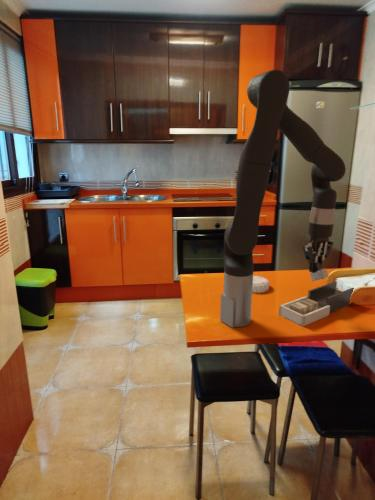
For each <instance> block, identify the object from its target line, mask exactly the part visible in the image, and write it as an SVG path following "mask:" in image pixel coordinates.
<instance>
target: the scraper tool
mask: <svg viewBox="0 0 375 500" xmlns="http://www.w3.org/2000/svg"><path fill="white" fill-rule="evenodd" d="M313 256H314V258H315V255H313ZM307 262H308V264H309V265H310V261H308V260H307ZM309 265H308V266H309ZM309 276H310V280H311V282H312V283H314V282H317V281H320V280H324V279H327V278H329V273H328V271H327V268H323V265H322V266H321V264H320V261H319V258H318V260H317V266H316V272H315V273H312V272H309Z"/></svg>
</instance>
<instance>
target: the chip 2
mask: <svg viewBox="0 0 375 500" xmlns="http://www.w3.org/2000/svg"><path fill="white" fill-rule="evenodd" d="M301 303H302V304H304V305H307V306H308V311H307V313H310V312H312V311H315V310H317V309H318V302H316V301H313V300H310V299H308V298H307V299H306V300H304V301H301Z"/></svg>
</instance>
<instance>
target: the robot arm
mask: <svg viewBox="0 0 375 500" xmlns="http://www.w3.org/2000/svg"><path fill="white" fill-rule="evenodd" d="M246 89H247V90H246V93H247V97H248V101H249V103H250V104H252V106H253V107H254V108H255V109H256V113H255V118H254V122H253V127H252V128H251V131H250V133H249V135H248V137H247V139H246V141H245V143H244V146H243V148H242V151H241V152H240V157H239V161H238V166H237V172H236V181H235V182H236V183H235V185H236V186H235V195H236V196H235V210H234V216H233V220H232V222H231V223H229V224H228V225H227V227H226V229H225V230H224V234H223V235H224V236H223V266H224V268H223V271H224V273H223V293H221V295H220V317H219V318H220V319H219V320H220V321H221V322H222V323H224V324H225V325H227V326H229V327H230V328H231V329H232V328H233V329H234V328H242V327H246V326H248V325H250V324H251V320H252V302H253V301H252V300H253V292H252V287H253V276H254V271H255V270H254V268H255V267H254V265H255V264H254V259H253V258H254V257H253V252H254V251H253V250H254V249H255V248H256V246H257V244H258V236H259V225H260V216H261V210H262V205H263V204H264V199H265V194H266V190H267V186H268V183H269V178H270V173H271V168H272V165H273V157H274V153H275V147H276V143H277V137H278V132H279V131H280V132H281V133H282V134H283V135H284V136H285V137H286V138H287V139H288V141H289V142H290V143H291V145H292V146H293V147H294V148H295V150H296V151H297V152H298V153H299V154H300V156H301V157H302V158H303V159H304V160H305V161H306V162H308V163H310V164H313V165H311V166H312V167H311V170H310V171H311V172H310V178H311V180H310V181H311V188H312V192H313V193H312V194H313V196H312V200H311V201H312V203H311V209H310V213H309V220H308V221H309V222H308V228H307V229H308V230H307V234H308V235H309V236H310V238H309V240H308V244H304V245H302V249H303V255H304V259H305V260H306V261H307V262H308V261H310V265H308V271H309V273H315V272H316V266H317V260H318V258H319V261H320V264H321V266H322V267H323V263H324V261H325V259H328V257H329V255H330V252H331V250H332V248H333V245H334V241H331V240H330V238H331V237H332V236H333V234H334V224H335V219H336V218H335V217H336V204H337V196H338V195H337V190H335V189H334V188H332V186H331V182H333V183H334V182H338V181H340V180H342V179H343V178H344V177H345V174H346V170H347V169H346V164H345V162H344V160H343V159H342V157H341V156H340V155H338V153H336V152H335V151H334V150H333V149H331V148H330V147H329V146H328V145H326V144H325V143H324V141H323V139H322V138H321V137H320V136H319V134H318V133H317V131H316V130H315V129H314V128H313V127H312V126H311V125H310V124H309V123H308V122H306V121H305V120H304V119H303V118H301V117H300V116H298V114H296V112H294V111H293V110H292V109H291V108H290V107H289V106H288V105H287V101H288V98H289V95H290V81H289V78H288V76H287V74H286V73H285V72H284V71H283V70H281V69H271V70H267V71H264V72H262V73H259V74H257V75H255V76H253V78H251V79H250V81H249V83H248V84H247V88H246ZM313 255H315V258H314V256H313Z"/></svg>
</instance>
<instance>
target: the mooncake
mask: <svg viewBox="0 0 375 500" xmlns="http://www.w3.org/2000/svg"><path fill="white" fill-rule="evenodd" d="M269 288H270V281H269V279H267V278H266V277H263V276H260V275H253V287H252V294H254V293H259V294H260V293H264V292H267V291H269V290H270V289H269Z"/></svg>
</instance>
